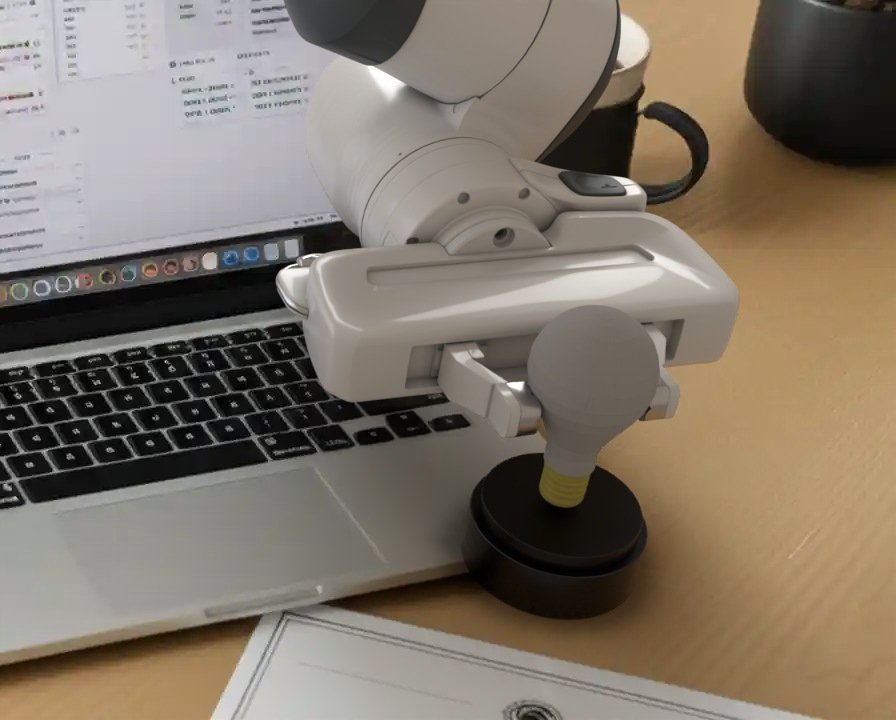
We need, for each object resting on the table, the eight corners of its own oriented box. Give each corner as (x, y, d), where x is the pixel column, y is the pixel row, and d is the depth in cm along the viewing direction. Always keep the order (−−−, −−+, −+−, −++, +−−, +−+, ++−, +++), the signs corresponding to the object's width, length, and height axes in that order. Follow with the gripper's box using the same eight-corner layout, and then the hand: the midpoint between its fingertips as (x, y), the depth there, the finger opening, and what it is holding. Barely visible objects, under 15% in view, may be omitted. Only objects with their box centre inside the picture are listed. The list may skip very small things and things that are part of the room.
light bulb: (606, 465, 77) (656, 284, 71) (631, 545, 72) (687, 358, 66) (489, 459, 76) (531, 276, 70) (508, 538, 72) (554, 350, 66)
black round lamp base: (587, 491, 80) (601, 438, 78) (667, 605, 74) (684, 550, 72) (434, 512, 78) (445, 457, 76) (504, 631, 72) (518, 575, 70)
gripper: (270, 204, 76) (375, 380, 65) (663, 176, 82) (818, 332, 71) (257, 319, 80) (355, 503, 69) (635, 283, 86) (778, 447, 75)
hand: (594, 416), depth 70 cm, fingers closed on light bulb, 5 cm apart
